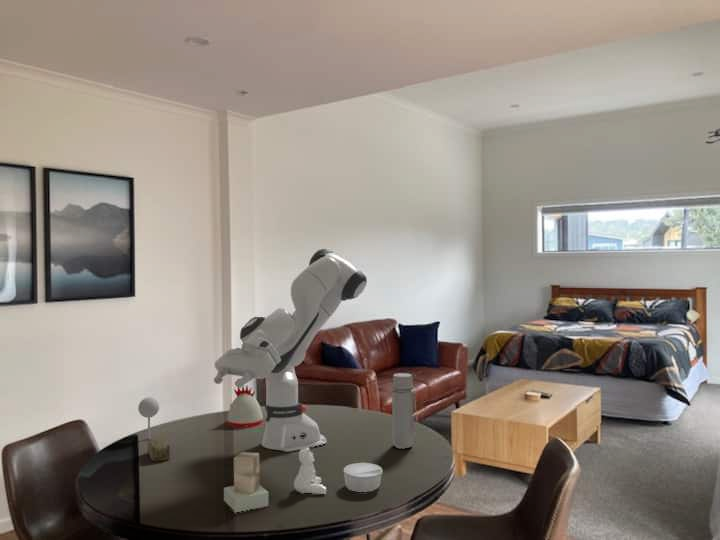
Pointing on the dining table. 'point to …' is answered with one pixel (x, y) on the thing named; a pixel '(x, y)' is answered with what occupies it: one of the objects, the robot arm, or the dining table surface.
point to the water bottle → (403, 409)
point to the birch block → (246, 472)
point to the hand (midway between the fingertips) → (226, 383)
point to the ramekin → (362, 477)
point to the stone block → (158, 449)
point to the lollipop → (148, 409)
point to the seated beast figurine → (308, 475)
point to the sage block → (245, 499)
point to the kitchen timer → (244, 410)
